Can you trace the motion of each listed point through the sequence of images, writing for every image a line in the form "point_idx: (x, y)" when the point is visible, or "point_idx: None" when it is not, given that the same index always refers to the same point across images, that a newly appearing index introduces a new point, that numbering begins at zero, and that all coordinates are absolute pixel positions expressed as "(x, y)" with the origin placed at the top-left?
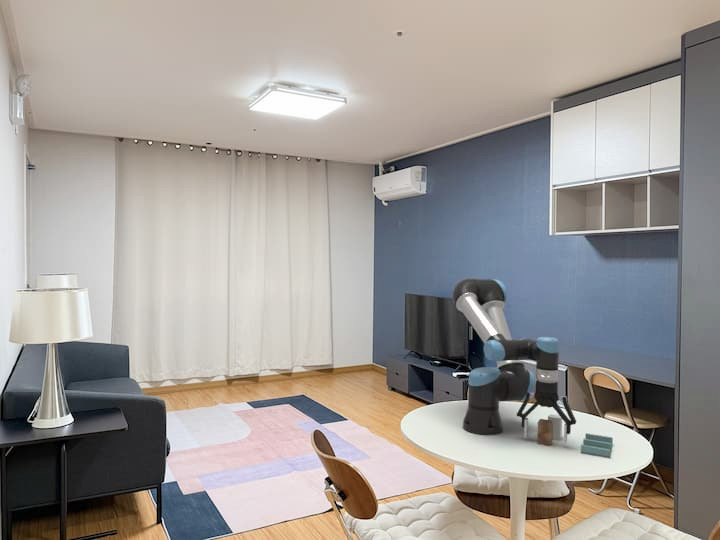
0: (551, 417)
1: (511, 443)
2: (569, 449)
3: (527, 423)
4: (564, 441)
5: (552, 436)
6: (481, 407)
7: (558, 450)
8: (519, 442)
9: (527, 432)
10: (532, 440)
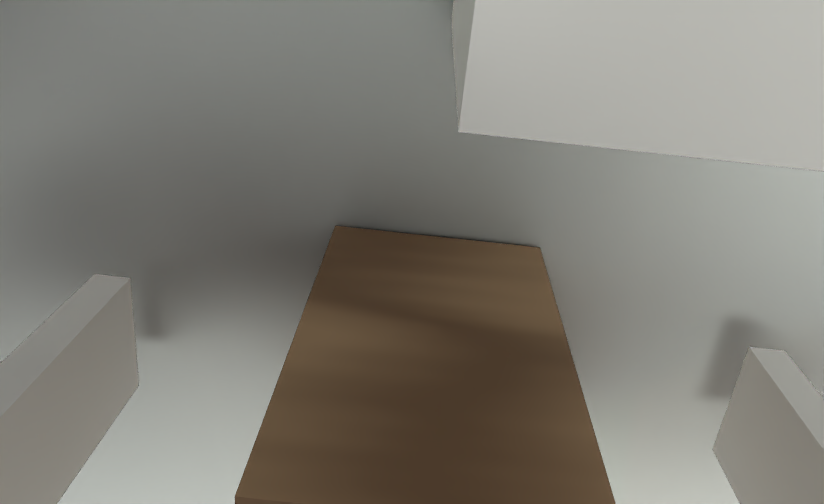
0: (602, 145)
1: None
2: None
3: (4, 482)
4: (736, 476)
5: (553, 306)
6: None
7: None
8: None
9: (104, 339)
10: (232, 240)
